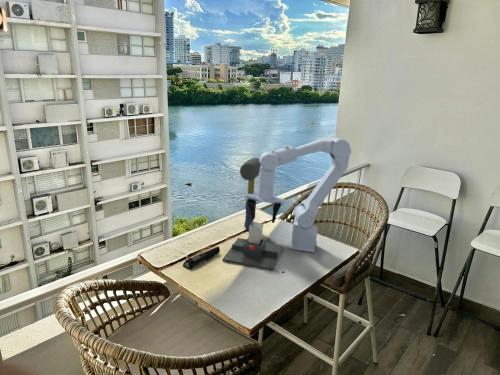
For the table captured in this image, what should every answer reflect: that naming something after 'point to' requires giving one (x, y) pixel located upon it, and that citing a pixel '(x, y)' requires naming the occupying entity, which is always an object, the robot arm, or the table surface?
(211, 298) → the table surface
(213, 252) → the electric trimmer
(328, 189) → the robot arm
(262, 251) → the stand base
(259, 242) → the column
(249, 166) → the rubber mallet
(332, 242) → the table surface
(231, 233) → the table surface
